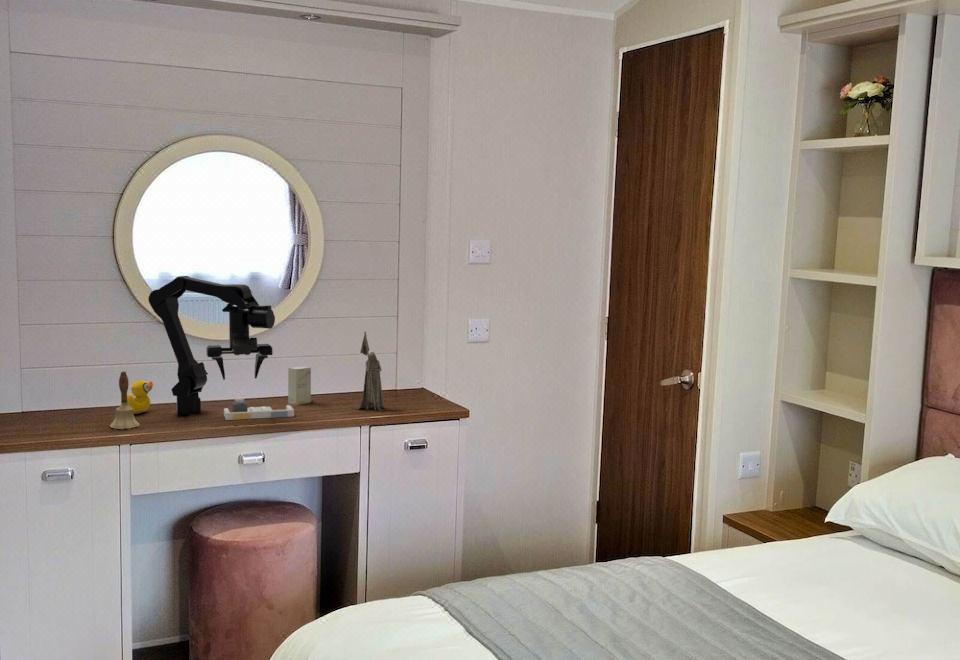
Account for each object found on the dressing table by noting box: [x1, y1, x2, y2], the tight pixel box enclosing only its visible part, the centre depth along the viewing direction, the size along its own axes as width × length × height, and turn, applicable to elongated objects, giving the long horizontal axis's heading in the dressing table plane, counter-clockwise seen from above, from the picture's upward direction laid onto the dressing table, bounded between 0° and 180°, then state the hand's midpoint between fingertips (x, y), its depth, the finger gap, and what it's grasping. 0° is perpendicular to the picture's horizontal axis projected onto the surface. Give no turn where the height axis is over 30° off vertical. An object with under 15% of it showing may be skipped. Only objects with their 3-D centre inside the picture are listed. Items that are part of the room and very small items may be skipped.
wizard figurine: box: [354, 331, 386, 412], centre depth 300 cm, size 10×8×25 cm
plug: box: [231, 397, 248, 412], centre depth 284 cm, size 4×4×6 cm
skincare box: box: [287, 365, 312, 406], centre depth 306 cm, size 6×4×12 cm
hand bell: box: [109, 370, 141, 429], centre depth 269 cm, size 8×8×16 cm
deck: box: [247, 406, 273, 412], centre depth 294 cm, size 10×7×1 cm
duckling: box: [127, 379, 154, 415], centre depth 288 cm, size 11×5×10 cm, turn 158°
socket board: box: [223, 404, 295, 421], centre depth 284 cm, size 20×11×2 cm, turn 110°
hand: (239, 378), depth 283 cm, fingers open, 9 cm apart
